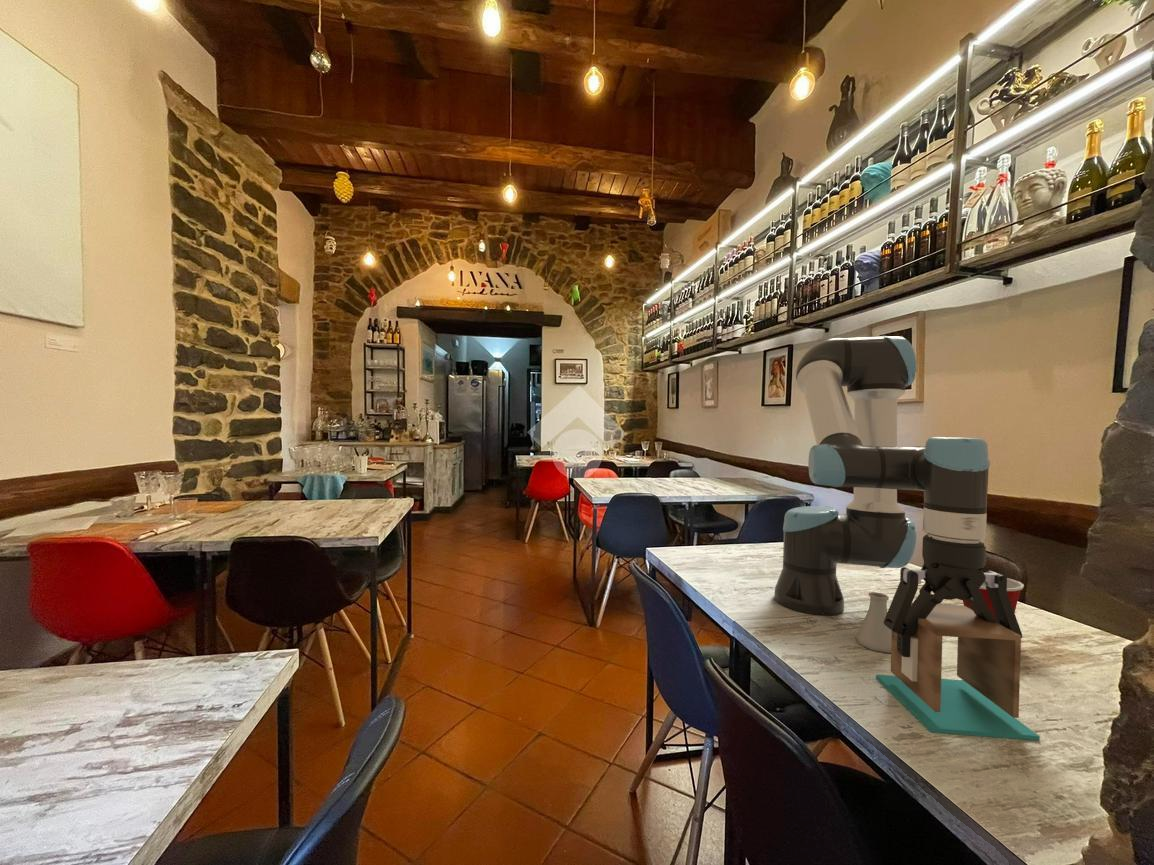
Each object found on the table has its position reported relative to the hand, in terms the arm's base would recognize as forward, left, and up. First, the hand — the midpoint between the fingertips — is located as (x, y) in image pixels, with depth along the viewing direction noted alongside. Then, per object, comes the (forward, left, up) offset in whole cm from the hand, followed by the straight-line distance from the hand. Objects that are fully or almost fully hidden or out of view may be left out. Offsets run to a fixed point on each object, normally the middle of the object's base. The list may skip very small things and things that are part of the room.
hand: (949, 679), depth 71 cm
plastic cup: (-27, +25, -4) cm, 37 cm away
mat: (0, 0, -4) cm, 4 cm away
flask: (-20, 0, -4) cm, 20 cm away
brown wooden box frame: (0, 0, -2) cm, 2 cm away
